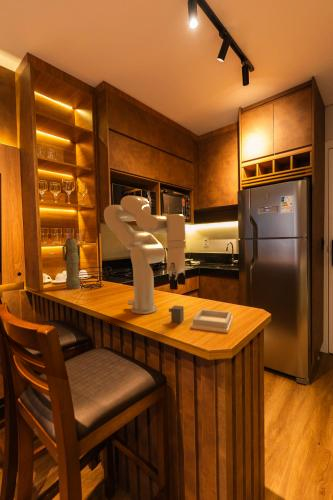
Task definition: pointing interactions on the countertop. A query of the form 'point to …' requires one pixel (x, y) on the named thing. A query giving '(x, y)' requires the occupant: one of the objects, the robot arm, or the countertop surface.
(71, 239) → the thermos
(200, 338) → the countertop surface
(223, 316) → the tray
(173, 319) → the connector plug
